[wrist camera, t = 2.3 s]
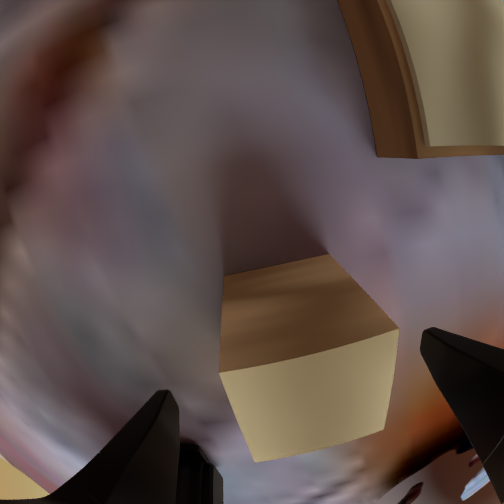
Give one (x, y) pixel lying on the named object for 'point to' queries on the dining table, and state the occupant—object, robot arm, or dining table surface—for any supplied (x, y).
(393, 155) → the plinth
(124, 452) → the robot arm
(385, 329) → the block
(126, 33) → the dining table surface
